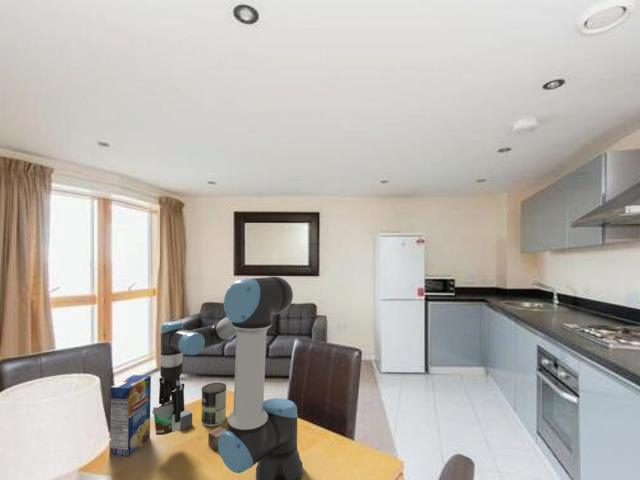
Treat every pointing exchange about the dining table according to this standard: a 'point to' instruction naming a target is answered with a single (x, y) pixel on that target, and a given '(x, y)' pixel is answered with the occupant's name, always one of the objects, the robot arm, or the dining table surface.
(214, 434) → the walnut block
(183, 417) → the gray block
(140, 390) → the juice carton
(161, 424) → the patterned half-round container
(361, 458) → the dining table surface
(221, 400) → the coffee can
